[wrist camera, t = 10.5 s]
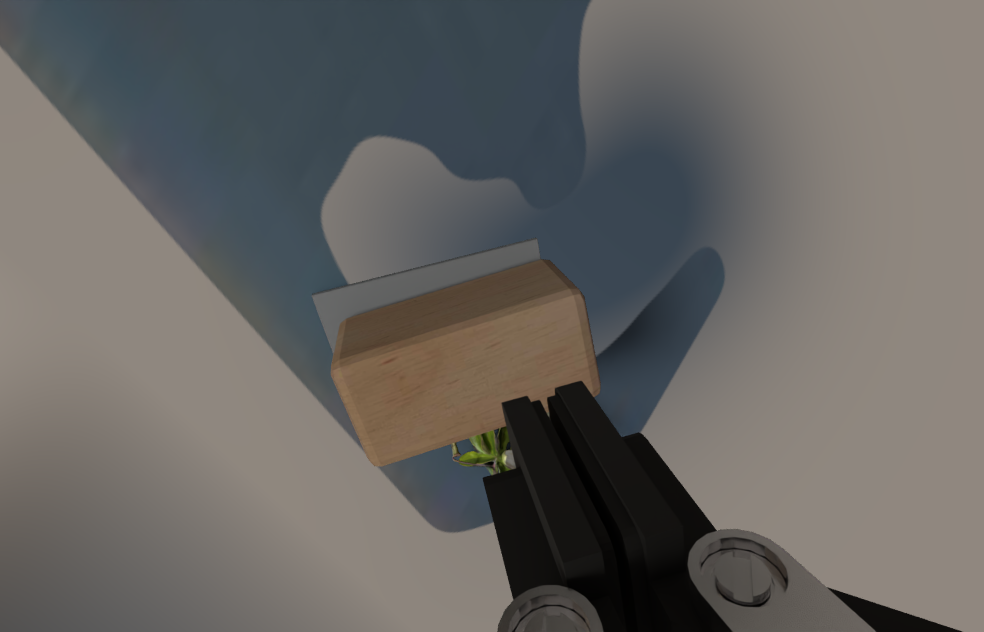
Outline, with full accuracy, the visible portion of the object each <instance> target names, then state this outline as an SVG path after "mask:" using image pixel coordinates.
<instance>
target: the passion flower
mask: <svg viewBox="0 0 984 632" xmlns="http://www.w3.org/2000/svg"><path fill="white" fill-rule="evenodd" d="M547 414H548V416H549V412H548V413H547ZM495 436H496V435H495V432H494V430H492V431H489V432H486V433H483V434H480V435H477V436H474V437H471V438H469V440H470V441H471V443H472V444H473V445H474V446H473V448H474V449H475V450H476V452H475V451H471V452H467V453H465V454H463V455H462V456H461V457H460V459H459V461H458V460H455V459H454V457H457V456H460V455H461V454H460V453H459V452H458V448H457V446H456V442H455V443H452V444H451V448H452V450H453V460H454V461H456V462H459V464H461V465H463V466H470V467H471V466H480V467H486V468H487V470H488V471H489V472H490V473H491V475H494V474H498V468H499V473H501V472H504V471H508V470H511V469H515V468H516V466H515V462H514V457H513V453H512V449H511V448H510V450H506V448H507V444H508V443H509V441H510V440H509V436H508V431H507V427H506V426H504V427H501V428H498V433H497V436H496V437H495Z"/></svg>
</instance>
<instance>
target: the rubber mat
mask: <svg viewBox="0 0 984 632" xmlns="http://www.w3.org/2000/svg"><path fill="white" fill-rule="evenodd" d="M538 260H541V258H540V252H539V246H538V240H537V238H533V239H529V240H525V241H521V242H517V243H513V244H509V245H505V246H501V247H497V248H493V249H489V250H485V251H481V252H477V253H473V254H469V255H465V256H461V257H457V258H453V259H449V260H445V261H441V262H437V263H433V264H429V265H425V266H421V267H418V268H413V269H410V270H406V271H402V272H398V273H394V274H389V275H385V276H382V277H378V278H374V279H370V280H366V281H362V282H358V283H354V284H350V285H346V286H342V287H338V288H334V289H330V290H326V291H322V292H318V293H314V294H312V298H313V300H314V303H315V306H316V309H317V311H318V314H319V317H320V319H321V322H322V325H323V327H324V330H325V333H326V336H327V338H328V341H329V344H330V346H331V349H332V352H333V354H334V350H335V345H336V341H337V336H338V331H339V326H340V323H342V322H343V321H344V320H345V319H347V318H350V317H353V316H356V315H360V314H363V313H366V312H370V311H373V310H376V309H379V308H383V307H386V306H389V305H393V304H396V303H399V302H402V301H406V300H409V299H412V298H416V297H419V296H422V295H426V294H429V293H432V292H435V291H439V290H442V289H445V288H449V287H452V286H455V285H459V284H462V283H465V282H468V281H472V280H475V279H478V278H482V277H485V276H488V275H492V274H495V273H498V272H501V271H505V270H508V269H511V268H515V267H518V266H521V265H525V264H528V263H531V262H534V261H538Z"/></svg>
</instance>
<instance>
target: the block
mask: <svg viewBox="0 0 984 632" xmlns="http://www.w3.org/2000/svg"><path fill="white" fill-rule="evenodd" d="M331 376H332V379H333V381H334V383H335V386H336V388H337V390H338V392H339V395H340V397H341V399H342V401H343V404H344V406H345V408H346V410H347V413H348V415H349V417H350V419H351V422H352V424H353V426H354V429H355V431H356V433H357V435H358V438H359V440H360V442H361V444H362V447H363V449H364V451H365V453H366V456H367V458H368V459H369V461H370V462H371V463H372V464H373V465H374V466H384V465H387V464H391V463H394V462H397V461H400V460H403V459H406V458H409V457H412V456H415V455H418V454H421V453H424V452H427V451H431V450H434V449H437V448H440V447H443V446H446V445H449V444H452V443H455V442H458V441H461V440H464V439H468V438H471V437H474V436H477V435H480V434H483V433H486V432H489V431H492V430H495V429H498V428H501V427H504V426H506V423H505V418H504V414H503V409H502V402H506V401H509V400H513V399H516V398H520V397H524V396H528V397H529V399H530V401H531V402H532V401H536V400H540V401H541V403H542V405H543V407H544V409H545V411H546V413H548V412H549V409H548V404H547V397H550V396H554V395H555V388H556V387H559V386H563V385H567V384H570V383H574V382H577V381H582V382H583V383H584V384H585V385H586V387H587V388H588V390H589V391H590V393H591V394H592V396H593V397H595V396H596V395H598V394H599V393H600V383H601V382H600V377H599V372H598V367H597V361H596V356H595V351H594V345H593V340H592V335H591V330H590V325H589V319H588V314H587V308H586V303H585V298H584V296H583V294H582V293H581V291H580V290H579V289H578V288H577V287H576V286H575V285H574V284H573V283H572V282H571V281H570V280H569V279H568V278H567V277H566V276H565V275H564V274H563V273H562V272H561V271H560V270H559V269H558V268H557V267H556V266H555V265H554V264H553V263H552V262H551V261H550V260H542V259H541V260H538V261H534V262H531V263H528V264H525V265H521V266H518V267H515V268H511V269H508V270H505V271H501V272H498V273H495V274H492V275H488V276H485V277H482V278H478V279H475V280H472V281H468V282H465V283H462V284H459V285H455V286H452V287H449V288H445V289H442V290H439V291H435V292H432V293H429V294H426V295H422V296H419V297H416V298H412V299H409V300H406V301H402V302H399V303H396V304H393V305H389V306H386V307H383V308H379V309H376V310H373V311H370V312H366V313H363V314H360V315H356V316H353V317H350V318H347V319H345V320H344V321H343V322H342V323H340V326H339V331H338V336H337V341H336V345H335V350H334V355H333V360H332V365H331Z"/></svg>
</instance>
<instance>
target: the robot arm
mask: <svg viewBox="0 0 984 632" xmlns="http://www.w3.org/2000/svg"><path fill="white" fill-rule="evenodd" d="M547 404H548V409H549V415H550V418H549V416H548V414H547V413H546V411H545V409H544V407H543V405H542V403H541V401H540V400H536V401H532V402H531V401H530V399H529V397H528V396H524V397H520V398H516V399H513V400H509V401H506V402H502V409H503V414H504V418H505V423H506V427H507V431H508V436H509V440H510V444H511V449H512V453H513V457H514V462H515V466H516V468H515V469H511V470H508V471H504V472H501V473H498V474H494V475H491V476H487V477H484V478H483V482H484V486H485V490H486V494H487V498H488V502H489V505H490V509H491V513H492V517H493V521H494V525H495V529H496V533H497V537H498V541H499V545H500V549H501V553H502V557H503V561H504V565H505V569H506V573H507V576H508V580H509V584H510V588H511V592H512V596H513V601H512V602H511V604H510V605H509V606H508V607H507V608H506V609H505V611H504V613H503V615H502V618H501V620H500V622H499V624H498V631H497V632H962V631H959V630H955V629H953V628H950V627H947V626H943V625H940V624H937V623H935V622H931V621H928V620H925V619H922V618H919V617H916V616H913V615H910V614H907V613H904V612H901V611H898V610H895V609H891V608H888V607H886V606H882V605H879V604H876V603H873V602H870V601H867V600H864V599H861V598H858V597H855V596H852V595H848V594H846V593H843V592H840V591H837V590H834V589H831V588H827V587H825V586H824V585H823V584H822V583H821V582H820V581H819V580H818V579H817V578H816V577H814V576H813V575H812V574H811V573H810V572H809V571H808V570H806V569H805V568H804V567H803V566H802V565H801V564H800V563H799V562H797V561H796V560H795V559H794V558H793V557H792V556H791V555H790V554H789V553H788V552H786V551H785V550H784V549H783V548H781V547H780V546H779V545H777V544H776V543H774V542H773V541H771V540H770V539H768V538H765V537H763V536H761V535H759V534H756V533H753V532H749V531H744V530H739V529H726V530H718V531H717V530H716V529H715V528H714V526H713V525H712V524H711V522H710V521H709V520H708V519H707V517H706V516H705V515H704V513H703V512H702V511H701V509H700V508H699V507H698V505H697V504H696V503H695V501H694V500H693V499H692V498H691V496H690V495H689V494H688V492H687V491H686V490H685V488H684V487H683V486H682V484H681V483H680V482H679V481H678V479H677V478H676V477H675V475H674V474H673V473H672V471H671V470H670V469H669V467H668V466H667V465H666V463H665V462H664V461H663V460H662V458H661V457H660V456H659V454H658V453H657V452H656V451H655V449H654V448H653V446H652V445H651V444H650V443H649V441H648V440H647V439H646V438H645V437H644V435H642V434H641V433H639V432H638V433H635V434H632V435H628V436H625V437H621V436H620V435H619V433H618V432H617V430H616V429H615V427H614V426H613V424H612V423H611V422H610V420H609V419H608V417H607V416H606V414H605V413H604V411H603V410H602V409H601V407H600V406H599V404H598V403H597V401H596V400H595V398H594V397H593V396H592V394H591V393H590V391H589V390H588V388H587V387H586V385H585V384H584V383H583V382H582V381H577V382H574V383H570V384H567V385H563V386H559V387H556V388H555V395H554V396H550V397H547Z"/></svg>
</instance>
